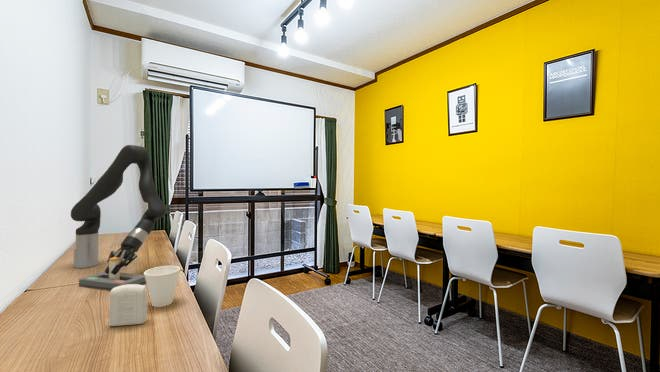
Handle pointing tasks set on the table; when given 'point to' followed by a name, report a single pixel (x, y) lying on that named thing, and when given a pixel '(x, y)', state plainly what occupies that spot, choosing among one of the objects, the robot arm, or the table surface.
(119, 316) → the photo printer
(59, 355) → the table surface
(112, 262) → the handle
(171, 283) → the cup
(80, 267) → the robot arm
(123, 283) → the slotted lever switch base
